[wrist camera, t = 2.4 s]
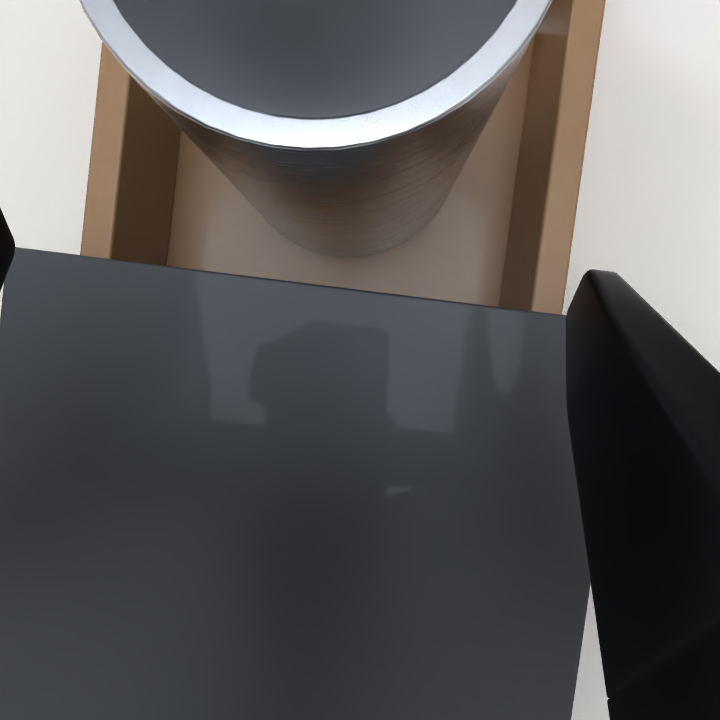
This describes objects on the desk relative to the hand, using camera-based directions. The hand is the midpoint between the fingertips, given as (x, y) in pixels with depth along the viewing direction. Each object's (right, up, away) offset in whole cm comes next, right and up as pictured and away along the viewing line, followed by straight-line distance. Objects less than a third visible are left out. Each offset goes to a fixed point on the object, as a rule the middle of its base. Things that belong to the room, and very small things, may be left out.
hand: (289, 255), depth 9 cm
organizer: (-1, -7, +12) cm, 14 cm away
